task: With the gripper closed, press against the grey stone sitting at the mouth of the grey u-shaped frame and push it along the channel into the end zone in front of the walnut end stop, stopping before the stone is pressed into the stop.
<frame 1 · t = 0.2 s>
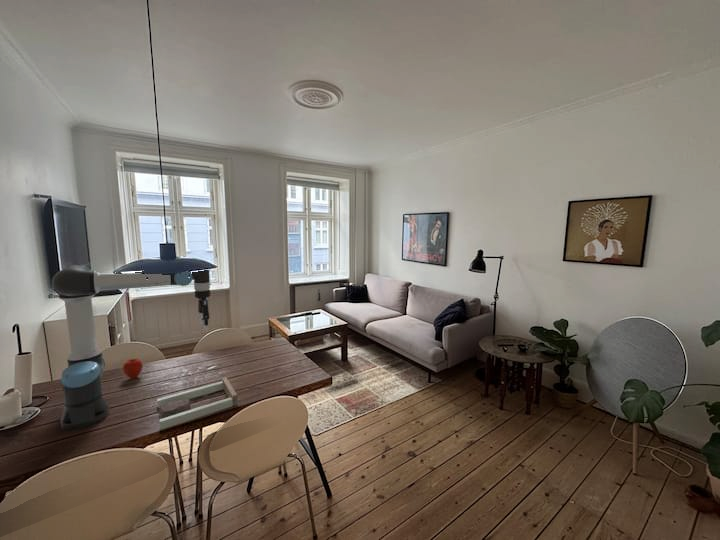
hand: (204, 327, 160), 28 cm above the table, fingers open, 13 cm apart
apple: (133, 378, 158), on the table
grey u-shaped frame: (197, 405, 135), on the table
stone: (175, 413, 129), on the table
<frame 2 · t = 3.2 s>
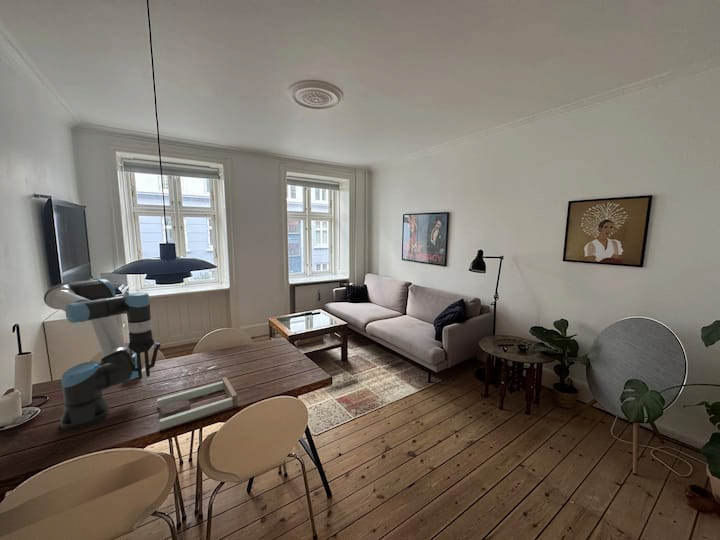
hand: (144, 384, 121), 17 cm above the table, fingers closed
stone: (175, 414, 128), on the table
everything else where it was.
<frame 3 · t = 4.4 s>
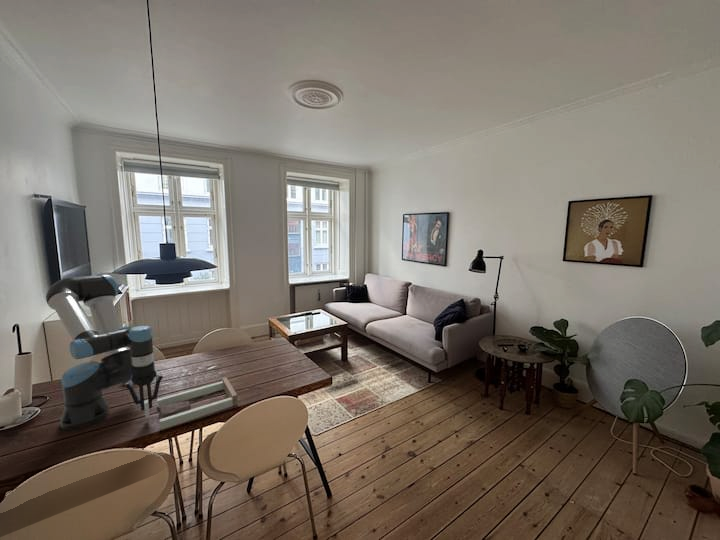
hand: (147, 415, 123), 2 cm above the table, fingers closed
nothing on the table moved.
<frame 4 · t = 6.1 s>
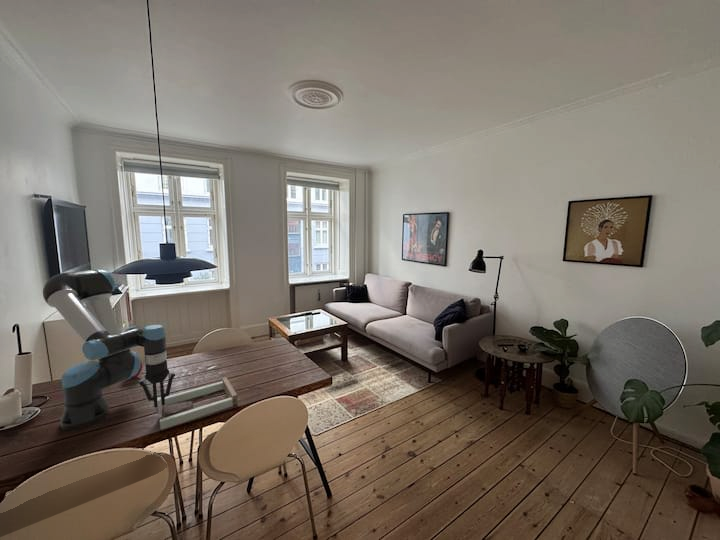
hand: (160, 412, 126), 2 cm above the table, fingers closed
stone: (177, 415, 128), on the table, touching gripper
everything else where it was.
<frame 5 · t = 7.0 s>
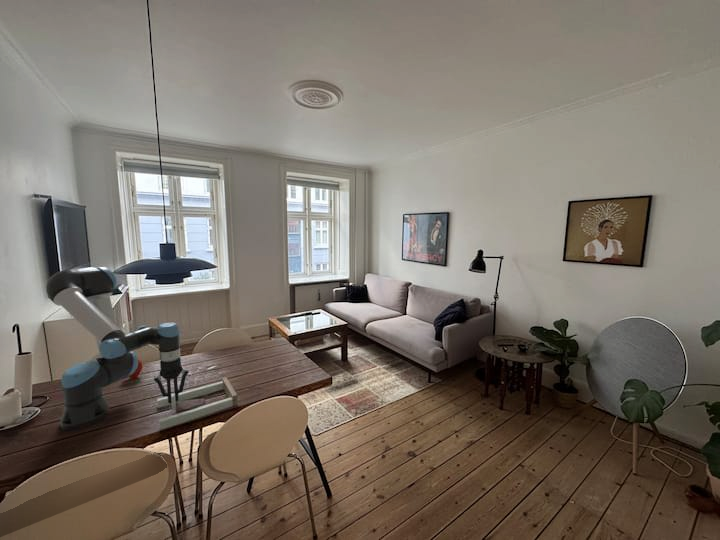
hand: (173, 408, 129), 2 cm above the table, fingers closed
stone: (190, 412, 130), on the table, touching gripper
everything else where it was.
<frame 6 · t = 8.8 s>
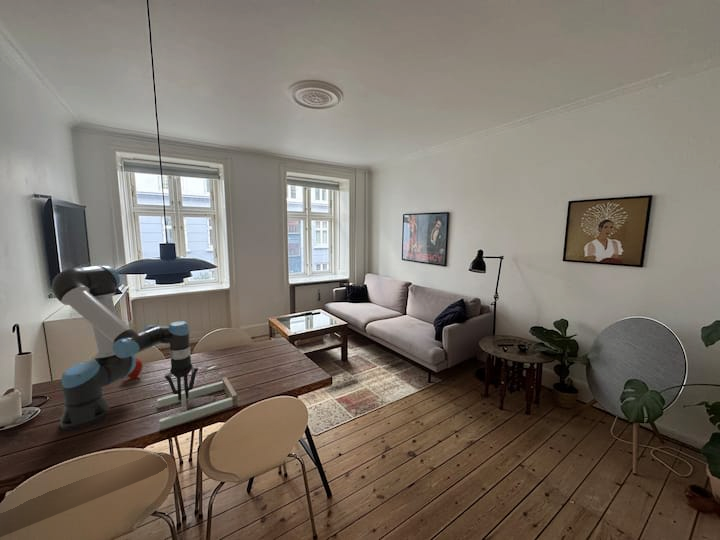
hand: (183, 405, 131), 2 cm above the table, fingers closed
stone: (200, 409, 133), on the table
everything else where it was.
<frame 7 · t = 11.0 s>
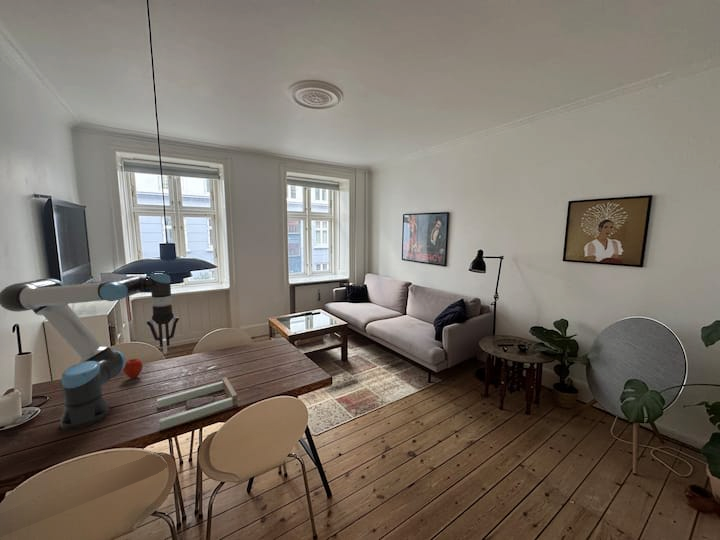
hand: (165, 352, 138), 23 cm above the table, fingers closed
nothing on the table moved.
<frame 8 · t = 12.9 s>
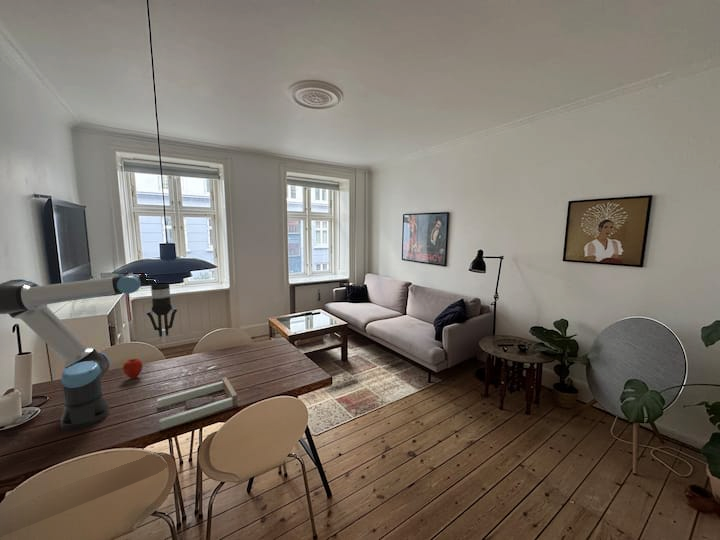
hand: (164, 342, 147), 24 cm above the table, fingers closed
nothing on the table moved.
at the end: stone inside the target area (6.3 cm from its centre), on the table; stone moved 9.8 cm from its start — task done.
